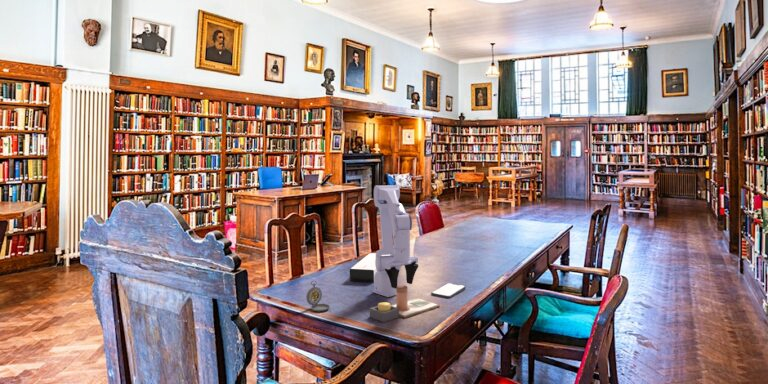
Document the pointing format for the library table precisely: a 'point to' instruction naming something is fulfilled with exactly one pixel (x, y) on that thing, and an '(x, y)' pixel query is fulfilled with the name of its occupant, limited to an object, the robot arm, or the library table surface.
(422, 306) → the colouring board
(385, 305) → the button
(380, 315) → the button base
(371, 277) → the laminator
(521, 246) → the library table surface
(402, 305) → the brown cylinder
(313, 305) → the pocket watch
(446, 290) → the phone case
